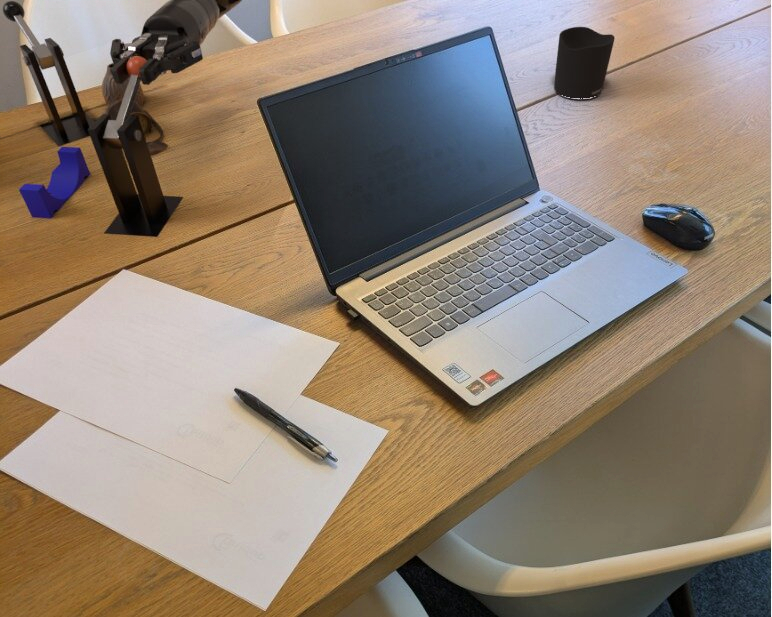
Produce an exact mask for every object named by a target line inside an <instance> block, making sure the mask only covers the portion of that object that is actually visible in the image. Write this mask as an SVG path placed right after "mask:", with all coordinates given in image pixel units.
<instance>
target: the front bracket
mask: <svg viewBox="0 0 772 617" xmlns="http://www.w3.org/2000/svg"><path fill="white" fill-rule="evenodd" d="M108 120H112V119H111V116H110V114H105V113H102V114H101V115H100V116H99V117H98V118H97V119H96V120H94V122H95V123H94V124H93V125H92V126H91V127H90V128H89V129H88V132H89V135H90V136H89V137H90V140H91V142H92V145H93V148H94V150H95V153H96V156H97V158H98V162H99V164H100V167H101V169H102V172H103V174H104V177H105V180H106V182H107V185H108V188H109V190H110V193H111V195H112V199H113V201H114V203H115V207H116V208H117V212H118V214H117V215H116V216H115V218H114V219H113V220H112V222H111V223H110V224H109V226H108V227H107V228H106V229H105V230H104V232H103V235H104V234H105V235H118V236H119V235H120V236H133V237H148V238H149V237H150V238H158V237H159V235H160V233H161V232H162V231H163V229H164V228H165V226H166V224H168V222H169V220H170V218H171V217H172V216H173V215H174V212H176V210H177V208H178V207H179V205H180V203H181V202H182V201H183V199H184V196H175V195H164V193H163V190H162V187H161V183H160V181H159V177H158V174H157V171H156V168H155V165H154V162H153V158H152V155H150V151H149V148H148V145H147V142H148V141H147V138H146V136H145V132H143V129H142V126H141V123H140V119H139V116H138V115H131V116H130V117H129V118H128V119H127V120H126V121H125V122H124V123H123V124H122V126H121V127H120V128H119V129H118V130H117V133H118V136H119V139H120V142H121V145H122V148H123V149H114V148H111V147H110V146H109V145H108V144H107V142H106V141H105V140H104V139H103V135H104V132H105V129H106V126H107V123H108Z"/></svg>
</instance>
